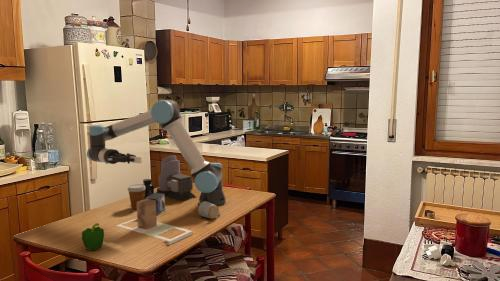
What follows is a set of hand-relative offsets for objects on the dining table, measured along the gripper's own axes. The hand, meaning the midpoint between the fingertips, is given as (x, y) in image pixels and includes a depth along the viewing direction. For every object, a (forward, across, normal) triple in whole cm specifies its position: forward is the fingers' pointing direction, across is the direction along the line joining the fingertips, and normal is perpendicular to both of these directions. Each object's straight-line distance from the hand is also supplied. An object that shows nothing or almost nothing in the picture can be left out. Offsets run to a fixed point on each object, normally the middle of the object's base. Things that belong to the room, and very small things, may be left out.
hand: (140, 160), depth 184 cm
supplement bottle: (-26, -26, -30) cm, 47 cm away
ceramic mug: (+25, -22, -30) cm, 45 cm away
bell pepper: (+10, +34, -30) cm, 47 cm away
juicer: (-20, -42, -30) cm, 56 cm away
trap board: (+16, +8, -30) cm, 35 cm away
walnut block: (+12, +8, -28) cm, 32 cm away
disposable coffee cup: (-19, -12, -30) cm, 38 cm away
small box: (0, -8, -30) cm, 31 cm away
